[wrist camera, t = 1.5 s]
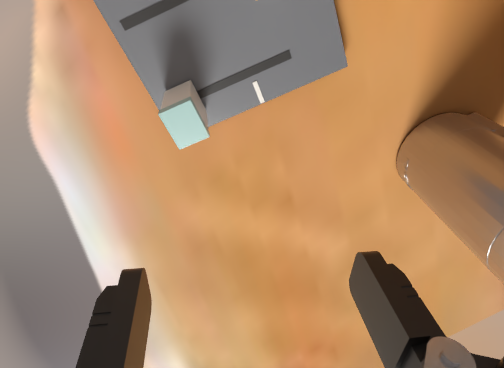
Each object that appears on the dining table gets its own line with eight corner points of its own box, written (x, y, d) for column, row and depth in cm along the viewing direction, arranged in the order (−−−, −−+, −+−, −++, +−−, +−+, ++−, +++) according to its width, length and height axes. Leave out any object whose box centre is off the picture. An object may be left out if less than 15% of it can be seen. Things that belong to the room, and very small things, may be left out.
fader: (190, 78, 27) (190, 99, 23) (207, 111, 29) (209, 136, 25) (163, 91, 28) (158, 114, 23) (181, 122, 29) (179, 149, 25)
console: (300, -117, 23) (307, -122, 22) (341, 61, 30) (348, 66, 29) (91, -14, 25) (85, -12, 23) (177, 133, 32) (177, 140, 30)
